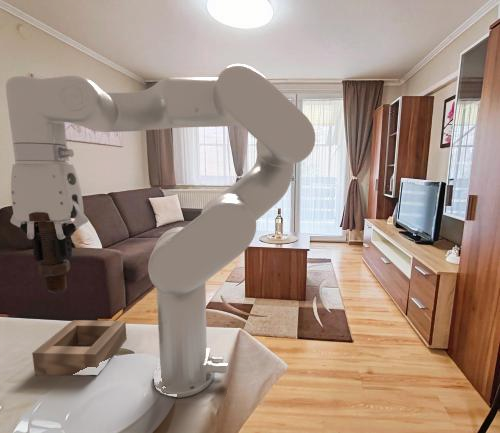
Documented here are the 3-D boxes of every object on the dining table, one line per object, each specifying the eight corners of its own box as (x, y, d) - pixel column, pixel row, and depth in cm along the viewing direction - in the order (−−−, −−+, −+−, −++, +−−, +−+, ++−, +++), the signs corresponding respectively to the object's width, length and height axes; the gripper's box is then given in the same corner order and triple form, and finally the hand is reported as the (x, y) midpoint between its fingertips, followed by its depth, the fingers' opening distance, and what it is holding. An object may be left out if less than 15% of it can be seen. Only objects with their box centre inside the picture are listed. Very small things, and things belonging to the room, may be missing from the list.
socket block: (126, 339, 74) (125, 321, 73) (97, 376, 61) (95, 354, 60) (75, 338, 75) (73, 320, 74) (34, 374, 61) (32, 352, 60)
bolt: (69, 282, 57) (61, 207, 55) (79, 289, 54) (72, 210, 52) (34, 292, 53) (24, 211, 51) (43, 299, 50) (32, 213, 47)
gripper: (100, 157, 53) (108, 253, 56) (13, 157, 54) (26, 253, 57) (75, 154, 46) (85, 266, 49) (-26, 155, 46) (-9, 265, 49)
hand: (53, 258), depth 53 cm, fingers closed on bolt, 3 cm apart
